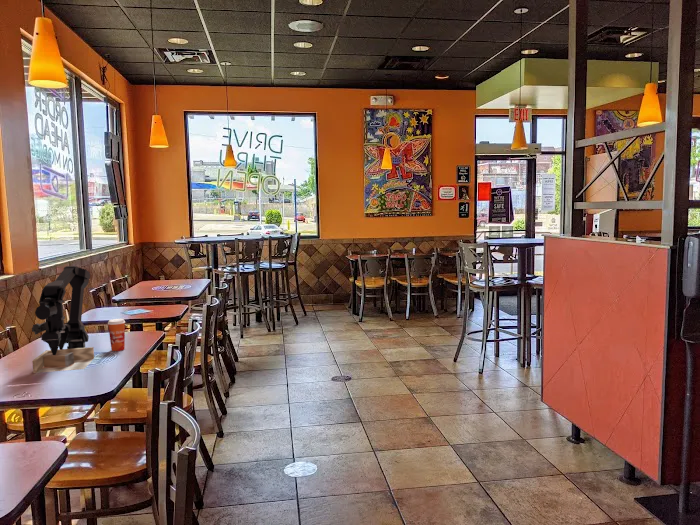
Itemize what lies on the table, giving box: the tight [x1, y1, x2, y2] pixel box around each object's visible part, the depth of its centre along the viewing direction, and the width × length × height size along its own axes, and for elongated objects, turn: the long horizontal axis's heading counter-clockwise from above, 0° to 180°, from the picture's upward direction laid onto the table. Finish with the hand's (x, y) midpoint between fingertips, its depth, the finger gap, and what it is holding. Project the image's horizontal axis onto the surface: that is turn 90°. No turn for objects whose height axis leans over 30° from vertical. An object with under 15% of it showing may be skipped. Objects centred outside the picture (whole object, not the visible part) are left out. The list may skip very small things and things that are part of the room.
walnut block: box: [43, 353, 74, 367], centre depth 222 cm, size 5×10×5 cm, turn 90°
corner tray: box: [31, 346, 95, 374], centre depth 222 cm, size 19×17×6 cm
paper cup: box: [107, 318, 126, 352], centre depth 248 cm, size 8×8×14 cm
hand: (57, 352), depth 221 cm, fingers open, 9 cm apart
